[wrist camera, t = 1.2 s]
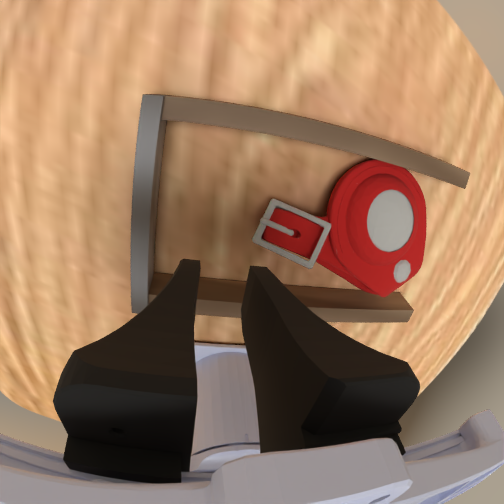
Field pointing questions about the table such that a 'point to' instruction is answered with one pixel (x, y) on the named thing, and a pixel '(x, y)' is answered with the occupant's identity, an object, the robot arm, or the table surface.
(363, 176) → the tracker holder
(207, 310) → the frame
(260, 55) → the table surface
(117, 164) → the table surface
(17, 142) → the table surface
